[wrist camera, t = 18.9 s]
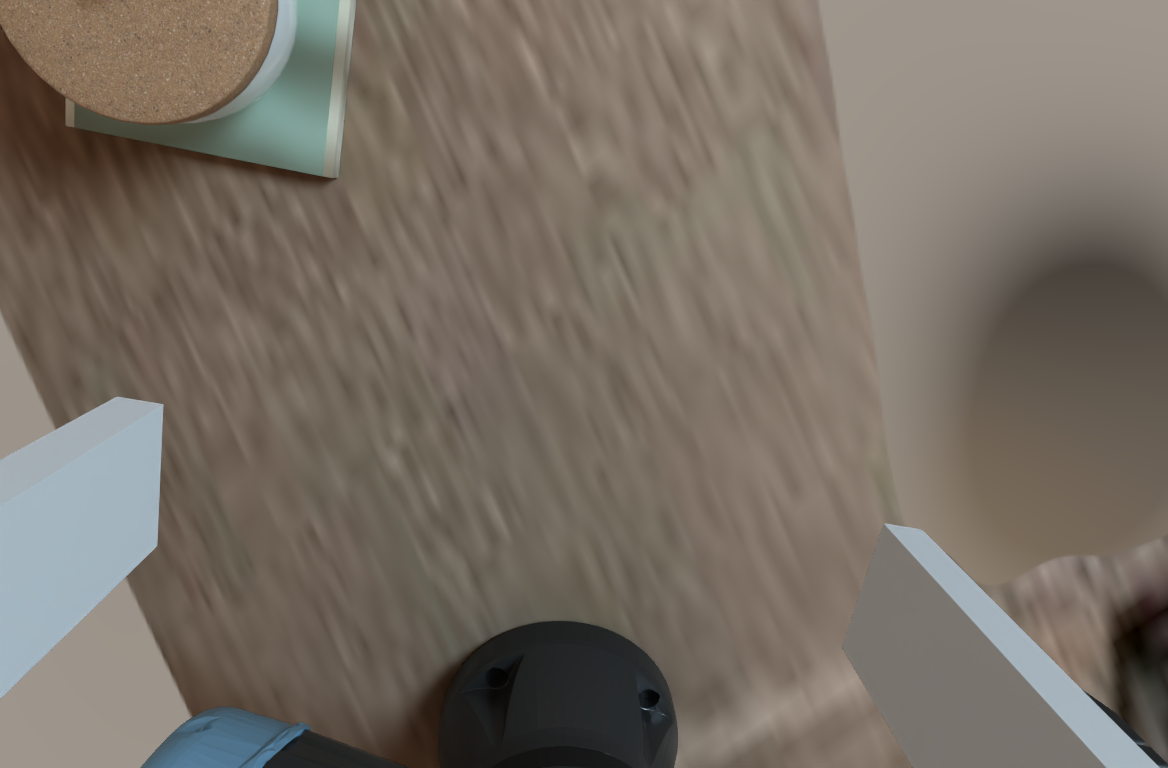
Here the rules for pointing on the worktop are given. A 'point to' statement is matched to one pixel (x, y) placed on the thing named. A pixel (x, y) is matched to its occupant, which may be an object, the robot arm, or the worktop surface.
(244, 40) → the lidded jar
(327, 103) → the game board
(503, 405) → the worktop surface
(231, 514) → the worktop surface
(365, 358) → the worktop surface
